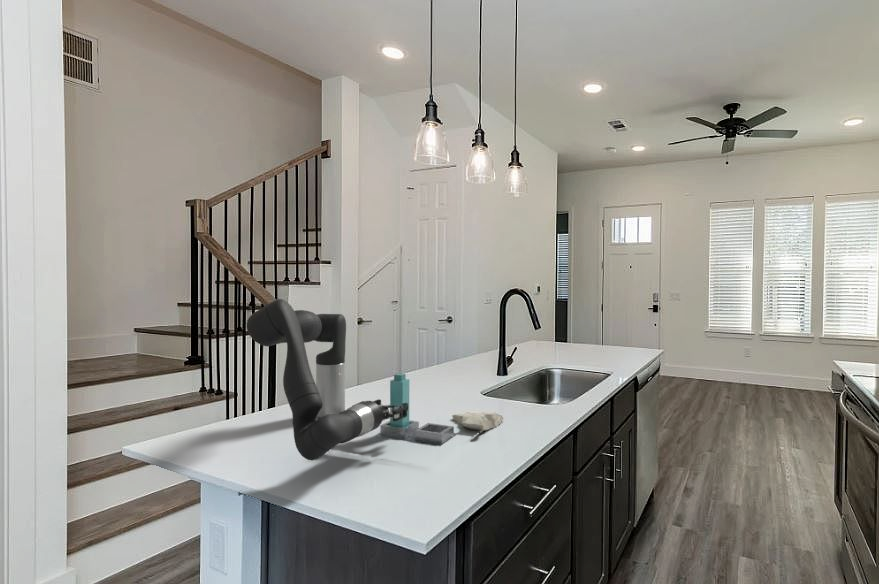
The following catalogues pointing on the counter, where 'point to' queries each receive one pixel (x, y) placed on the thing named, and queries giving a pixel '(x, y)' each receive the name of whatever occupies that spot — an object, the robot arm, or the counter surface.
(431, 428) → the panel
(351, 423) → the robot arm
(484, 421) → the rock
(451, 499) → the counter surface
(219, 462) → the counter surface
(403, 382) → the plug
